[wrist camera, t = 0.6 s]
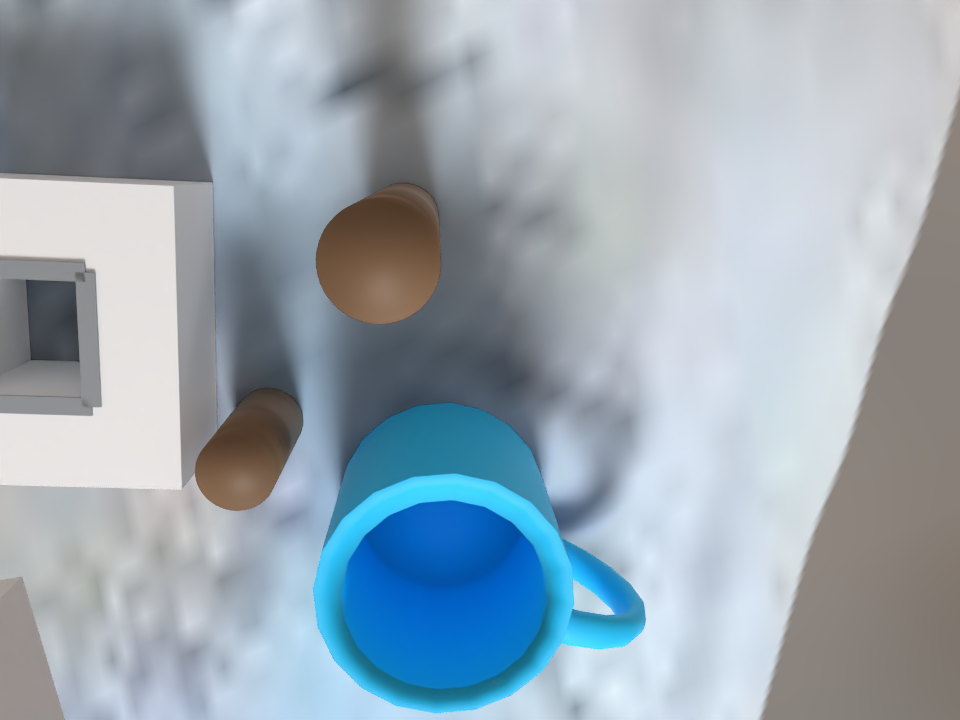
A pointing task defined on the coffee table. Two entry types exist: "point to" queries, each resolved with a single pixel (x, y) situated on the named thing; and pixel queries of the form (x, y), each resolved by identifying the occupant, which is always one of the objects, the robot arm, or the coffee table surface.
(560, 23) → the coffee table surface
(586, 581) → the mug
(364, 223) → the long dowel
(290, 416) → the short dowel
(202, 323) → the hole block
